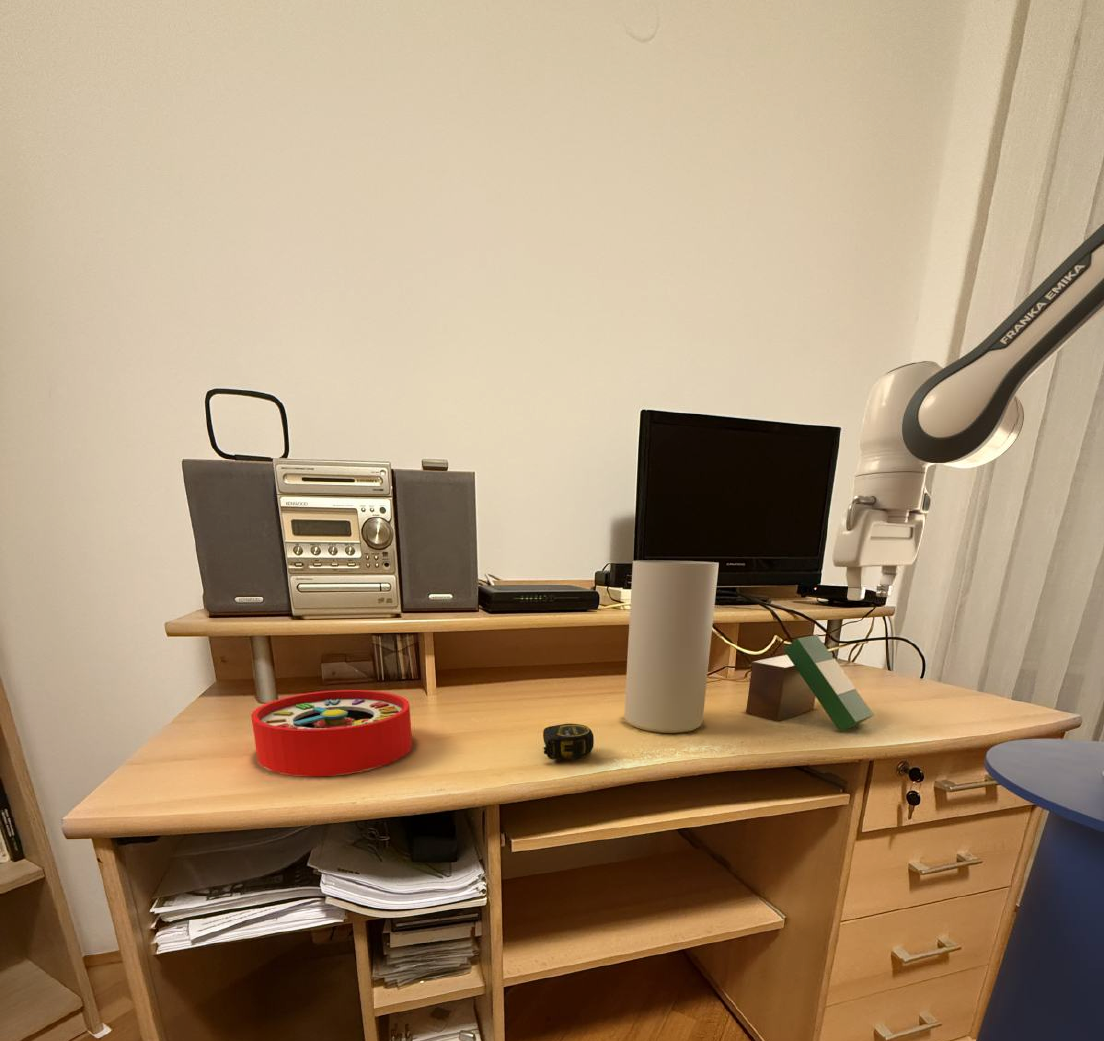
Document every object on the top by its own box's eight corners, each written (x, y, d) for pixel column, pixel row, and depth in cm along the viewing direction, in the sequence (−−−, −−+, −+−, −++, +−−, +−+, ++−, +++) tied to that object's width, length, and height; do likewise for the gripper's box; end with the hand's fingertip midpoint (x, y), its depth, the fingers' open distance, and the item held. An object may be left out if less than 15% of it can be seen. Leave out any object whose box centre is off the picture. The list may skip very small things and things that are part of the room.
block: (813, 709, 103) (821, 659, 100) (777, 721, 96) (785, 667, 93) (782, 702, 108) (789, 654, 105) (745, 713, 100) (752, 661, 98)
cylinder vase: (608, 720, 95) (615, 560, 87) (657, 707, 103) (668, 560, 95) (668, 740, 86) (683, 564, 78) (717, 724, 94) (735, 563, 86)
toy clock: (439, 705, 80) (306, 742, 65) (441, 745, 82) (312, 790, 67) (353, 683, 92) (221, 710, 77) (356, 719, 94) (228, 751, 78)
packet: (871, 727, 94) (888, 644, 89) (853, 735, 90) (869, 648, 85) (793, 708, 103) (805, 633, 99) (773, 715, 99) (785, 636, 95)
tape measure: (542, 746, 82) (542, 721, 81) (590, 747, 83) (591, 721, 81) (543, 764, 76) (543, 737, 75) (595, 764, 76) (596, 737, 75)
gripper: (877, 492, 74) (859, 603, 78) (936, 500, 86) (919, 596, 90) (828, 495, 78) (814, 600, 83) (891, 503, 91) (876, 594, 95)
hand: (869, 598), depth 87 cm, fingers open, 8 cm apart
